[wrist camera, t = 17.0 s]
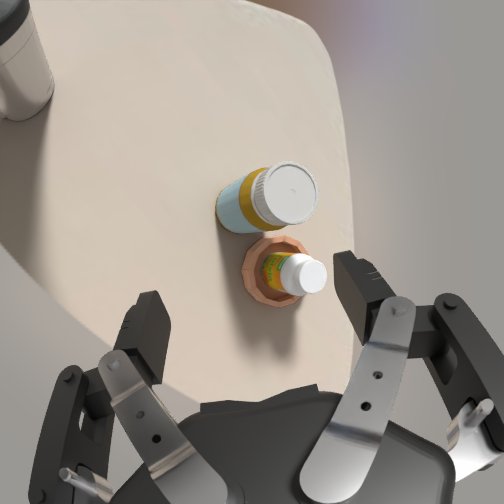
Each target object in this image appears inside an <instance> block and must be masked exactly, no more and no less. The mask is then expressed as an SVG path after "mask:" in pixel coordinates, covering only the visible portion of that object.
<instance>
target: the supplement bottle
mask: <svg viewBox="0 0 504 504" xmlns="http://www.w3.org/2000/svg"><path fill="white" fill-rule="evenodd" d="M260 276H261V279H262V281H263V283H264V284H265V285H266V286H268V287H269V288H272V289H275V290H278V291H282V292H285V293H288V294H291V295H295V296H303V295H306V294H308V293H310V294H314V293H317V292H319V291H320V290H321V289H322V288H323V287H324V285H325V283H326V279H327V272H326V269H325V267H324V265H323V264H322V263H321V262H319V261H317V260H314V259H313V258H311V257H310V256H308V255H306V254H301V253H283V252H275V253H271V254H269V255H268V256H267V257H265V259H264V260H263V261H262V263H261V266H260Z"/></svg>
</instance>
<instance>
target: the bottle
mask: <svg viewBox="0 0 504 504" xmlns="http://www.w3.org/2000/svg"><path fill="white" fill-rule="evenodd" d="M318 198H319V193H318V187H317V184H316V181H315V179H314V177H313V176H312V174H311V173H310V172H309V170H308V169H306V168H305V167H304V166H302V165H301V164H299V163H296V162H291V161H284V162H280V163H277V164H275V165H273V166H271V167H269V168H261V169H258V170H256V171H253V172H251V173H250V174H248V175H246V176H244V177H243V178H241V179H239V180H238V181H236V182H234V183H232V184H231V185H229V186H227V187H226V188H225V189H224V190H223V191H221V193H220V194H219V196H218V198H217V201H216V206H215V208H216V215H217V218H218V220H219V222H220V223H221V224H222V226H223V227H224V228H226V229H227V230H229V231H231V232H234V233H241V234H242V233H253V232H264V231H274V230H279V229H281V228H283V227H285V226H287V225H295V224H299V223H302V222H304V221H306V220H307V219H309V218H310V217H311V216H312V215H313V213H314V212H315V210H316V207H317V204H318Z"/></svg>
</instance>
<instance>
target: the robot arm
mask: <svg viewBox="0 0 504 504" xmlns="http://www.w3.org/2000/svg"><path fill="white" fill-rule="evenodd" d="M53 90H54V79H53V76H52V72H51V70H50V68H49V65H48V62H47V59H46V56H45V54H44V51H43V48H42V45H41V42H40V39H39V36H38V32H37V29H36V26H35V22H34V19H33V16H32V12H31V8H30V4H29V0H0V118H1V119H4V118H9V119H11V120H13V121H23V120H26V119H28V118H30V117H32V116H34V115H35V114H37V113H38V112H39V111H40V110H41V109H42V108H43V107H44V106H45V105H46V104H47V103H48V101H49V99H50V98H51V95H52V93H53ZM333 264H334V285H335V290H336V293H337V296H338V298H339V300H340V302H341V304H342V305H343V307H344V309H345V311H346V313H347V315H348V317H349V319H350V321H351V323H352V325H353V327H354V330H355V332H356V334H357V335H358V338H359V340H360V342H361V344H362V346H364V347H363V350H362V353H361V355H360V358H359V360H358V363H357V365H356V367H355V370H354V372H353V374H352V377H351V379H350V381H349V383H348V386H347V388H346V390H345V392H344V394H343V395H342V394H339V393H334V392H326V391H318V387H317V384H313V385H309V386H304V387H300V388H295V389H291V390H287V391H285V392H282V393H280V394H278V395H275V396H273V397H270V398H268V399H265V400H263V401H260V402H246V401H232V400H225V401H217V402H208V403H201V404H200V412H197V413H195V414H193V415H191V416H189V417H187V418H186V419H184V420H183V421H181V422H180V423H178V422H177V421H176V420H175V419H174V417H173V416H172V415H171V414H170V412H169V411H168V410H167V408H166V407H165V406H164V405H163V403H162V402H161V401H160V399H159V398H158V396H157V395H156V394H155V392H154V391H153V390H152V385H155V384H162V378H163V371H164V365H165V359H166V353H167V348H168V342H169V336H170V331H171V321H170V317H169V315H168V313H167V310H166V308H165V306H164V304H163V302H162V300H161V297H160V295H159V293H158V292H157V291H156V290H155V291H149V292H144V293H140V295H139V298H138V300H137V303H136V305H133V306H132V307H131V308H130V309H129V310H128V312H127V313H126V315H125V318H124V320H123V323H122V326H121V330H120V331H119V334H118V337H117V340H116V343H115V345H114V348H113V351H110V352H108V353H107V354H105V355H104V356H103V357H102V358H101V360H100V362H99V364H98V367H97V368H94V369H91V370H89V371H86V372H83V371H82V369H81V368H80V367H79V366H76V365H71V366H68V367H67V368H65V369H64V370H63V371H62V372H61V373H60V374H59V376H58V379H57V381H56V384H55V387H54V390H53V393H52V396H51V399H50V402H49V405H48V409H47V412H46V416H45V419H44V423H43V426H42V430H41V434H40V438H39V441H38V445H37V449H36V454H35V458H34V463H33V468H32V473H31V479H30V485H29V492H28V498H29V502H30V504H452V499H453V492H454V487H455V483H456V482H458V481H460V480H462V479H464V478H466V477H468V476H469V475H471V474H473V473H475V472H476V471H483V470H486V469H488V468H489V467H491V466H492V465H494V464H495V463H497V462H499V461H501V460H502V459H503V458H504V355H503V354H502V352H501V351H500V349H499V348H498V346H497V345H496V343H495V342H494V341H493V339H492V338H491V336H490V335H489V333H488V332H487V331H486V329H485V328H484V327H483V325H482V324H481V323H480V321H479V320H478V318H477V317H476V316H475V315H474V313H473V312H472V311H471V309H470V308H469V307H468V305H467V304H466V303H465V302H464V300H462V298H460V297H459V296H457V295H455V294H451V293H444V294H441V295H439V296H438V297H437V298H436V299H435V302H434V305H427V306H415V304H414V303H413V302H412V301H411V300H409V299H407V298H405V297H401V296H396V295H395V293H394V292H393V290H392V289H391V288H390V286H389V285H388V284H387V282H386V281H385V280H384V278H383V277H381V275H380V273H379V272H377V269H376V268H375V267H374V266H373V264H372V263H370V262H368V261H367V260H365V259H358V260H357V258H356V257H355V256H354V254H353V253H352V252H351V251H350V250H348V251H343V252H339V253H335V254H334V255H333ZM410 358H423V360H424V362H425V364H426V366H427V368H428V369H429V372H430V374H431V376H432V378H433V380H434V382H435V384H436V386H437V388H438V390H439V392H440V394H441V397H442V399H443V401H444V403H445V405H446V408H447V410H448V412H449V415H450V417H451V419H452V422H451V423H450V424H449V426H448V429H447V440H448V449H447V452H446V451H445V450H444V449H443V448H441V447H440V446H438V445H436V444H434V443H432V442H430V441H428V440H426V439H424V438H422V437H420V436H418V435H416V434H414V433H412V432H411V431H409V430H407V429H405V428H403V427H401V426H399V425H397V424H396V423H394V422H392V421H390V420H389V417H390V414H391V411H392V408H393V405H394V402H395V399H396V396H397V392H398V389H399V386H400V382H401V379H402V375H403V372H404V368H405V364H406V360H407V359H410ZM81 411H82V412H83V413H84V418H83V423H82V428H81V431H80V428H79V419H80V414H81ZM115 413H116V415H117V417H118V419H119V421H120V423H121V425H122V426H123V428H124V430H125V432H126V433H127V435H128V437H129V439H130V440H131V442H132V443H133V445H134V447H135V449H136V450H137V452H138V453H139V455H140V457H141V458H142V460H143V461H144V463H143V464H142V465H141V466H140V467H139V468H138V469H137V470H136V472H135V473H134V474H133V475H132V476H131V477H130V478H129V479H128V480H127V481H126V482H125V483H124V484H123V485H122V487H121V488H120V489H119V490H118V491H117V492H116V493H115V494H114V493H113V492H112V487H111V485H110V483H109V482H108V481H107V472H108V462H109V452H110V445H111V437H112V430H113V423H114V417H115Z"/></svg>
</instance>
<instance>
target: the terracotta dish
mask: <svg viewBox="0 0 504 504" xmlns="http://www.w3.org/2000/svg"><path fill="white" fill-rule="evenodd" d="M275 252H283V253H301V254H306V255H308V256H309V254H308V253H307V251H306V250H305V248H304V247H303V246H302V244H301V243H300V242H299V241H297V240H294V239H292V238H290V237H287V236H285V235H281V236H272V237H267V238H262V239H260V240H259V241H257V242H256V243H255V244H254V245H253V246H252V247H251V248H250V249H249V250H248V251H247V253H246V256H245V259H244V262H243V265H242V268H241V270H242V275H243V281H244V287H245V288H246V289H247V290H248V292H249V293H250V294H251V295H252V296H253V298H254V299H255V300H257V301H259V302H261V303H264V304H267V305H270V306H274V307H277V308H280V307H284V306H287V305H290V304H293V303H295V302H296V301H297V300H298V299H299V298H300V297H301V296H295V295H291V294H288V293H285V292H282V291H278V290H275V289H272V288H269V287H268V286H266V285H265V284H264V283H263V281H262V279H261V276H260V266H261V263H262V261H263V260H264V259H265V257H267V256H268V255H269V254H271V253H275Z"/></svg>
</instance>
